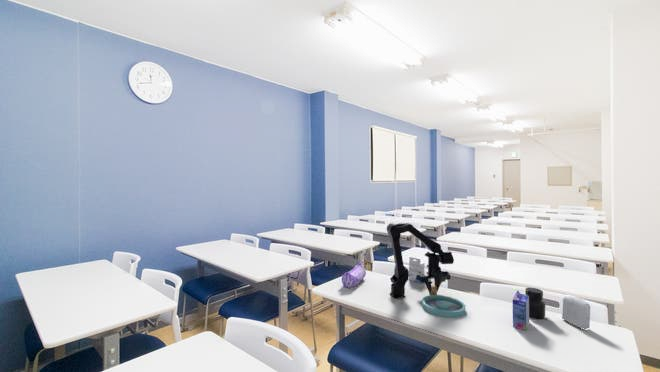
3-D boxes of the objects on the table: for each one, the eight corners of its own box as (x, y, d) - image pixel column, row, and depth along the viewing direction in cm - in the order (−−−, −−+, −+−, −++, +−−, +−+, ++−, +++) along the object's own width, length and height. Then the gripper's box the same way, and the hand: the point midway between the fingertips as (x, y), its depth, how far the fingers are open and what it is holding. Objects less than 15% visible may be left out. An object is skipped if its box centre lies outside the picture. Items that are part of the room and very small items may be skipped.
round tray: (439, 319, 136) (439, 314, 136) (414, 302, 155) (414, 297, 155) (474, 313, 142) (474, 308, 142) (446, 297, 161) (446, 293, 161)
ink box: (424, 281, 186) (425, 258, 185) (420, 283, 183) (420, 259, 182) (413, 278, 192) (413, 255, 192) (408, 279, 189) (408, 256, 189)
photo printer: (591, 330, 127) (592, 301, 127) (583, 330, 127) (584, 302, 126) (568, 318, 138) (568, 292, 137) (560, 319, 137) (561, 292, 136)
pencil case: (353, 276, 195) (353, 262, 194) (366, 278, 191) (367, 264, 191) (340, 288, 174) (340, 272, 174) (355, 290, 171) (355, 274, 170)
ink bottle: (544, 313, 143) (545, 288, 142) (547, 321, 135) (548, 295, 134) (520, 309, 147) (521, 285, 147) (522, 316, 139) (522, 291, 139)
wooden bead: (432, 296, 163) (432, 288, 163) (427, 293, 167) (427, 285, 167) (438, 295, 164) (438, 287, 164) (433, 292, 168) (434, 284, 168)
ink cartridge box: (514, 318, 138) (515, 287, 137) (529, 322, 134) (530, 290, 134) (511, 326, 130) (512, 293, 129) (526, 330, 126) (527, 297, 126)
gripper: (428, 270, 154) (427, 299, 155) (457, 267, 160) (457, 295, 160) (415, 264, 165) (415, 291, 165) (444, 261, 171) (443, 288, 171)
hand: (433, 292), depth 165 cm, fingers closed on wooden bead, 4 cm apart
